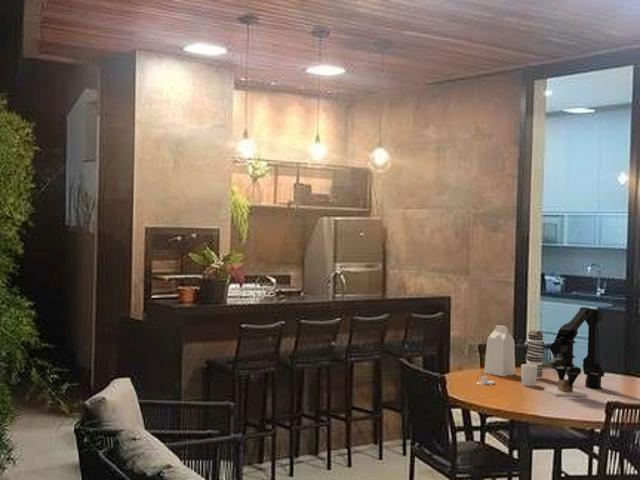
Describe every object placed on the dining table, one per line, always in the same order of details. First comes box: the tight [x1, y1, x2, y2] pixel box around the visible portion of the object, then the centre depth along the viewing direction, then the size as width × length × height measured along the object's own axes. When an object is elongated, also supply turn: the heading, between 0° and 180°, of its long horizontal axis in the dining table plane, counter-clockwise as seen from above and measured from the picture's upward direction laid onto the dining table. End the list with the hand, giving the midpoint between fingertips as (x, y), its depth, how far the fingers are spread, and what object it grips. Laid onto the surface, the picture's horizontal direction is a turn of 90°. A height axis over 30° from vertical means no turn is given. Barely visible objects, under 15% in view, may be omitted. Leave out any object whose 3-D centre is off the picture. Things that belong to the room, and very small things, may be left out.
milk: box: [483, 324, 516, 377], centre depth 428 cm, size 12×12×26 cm
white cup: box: [520, 363, 537, 387], centre depth 398 cm, size 8×8×10 cm
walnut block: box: [557, 378, 574, 392], centre depth 380 cm, size 5×5×5 cm
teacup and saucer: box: [476, 375, 496, 386], centre depth 398 cm, size 9×8×4 cm
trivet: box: [544, 387, 588, 397], centre depth 380 cm, size 16×12×1 cm
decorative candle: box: [526, 329, 545, 380], centre depth 420 cm, size 9×9×25 cm
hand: (565, 385), depth 380 cm, fingers open, 9 cm apart
